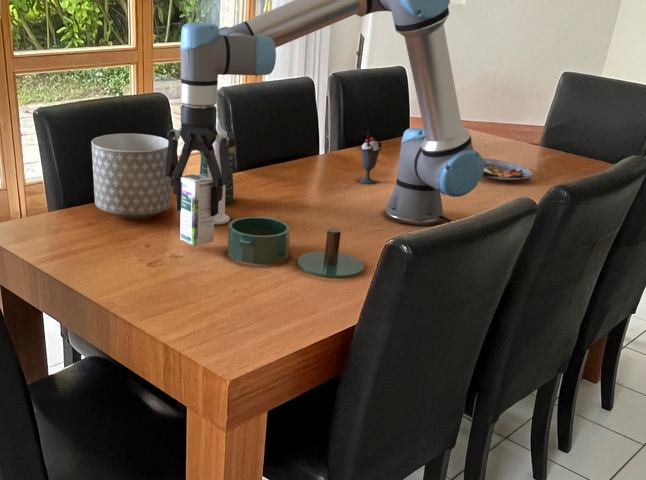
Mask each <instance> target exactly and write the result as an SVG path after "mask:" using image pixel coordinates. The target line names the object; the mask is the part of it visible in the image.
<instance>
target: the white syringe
mask: <svg viewBox="0 0 646 480" xmlns="http://www.w3.org/2000/svg"><path fill="white" fill-rule="evenodd" d="M216 130H217V133H218V135H221V136H224V137H226V136H227V132H226V131H227V130H225V129H224V128H223V127H222V125H221V120H220V118H219V117H217V118H216ZM213 147H214V151H215V157H216V160H217V163H218V166H219V169H220V172H221V165H220V156H219V146H218V142H217V140H216V141H215V142H214V143H213ZM208 178H211V179H212V176H211V173H210V170H209V167H208ZM225 186H226V185H223V196H222V200H220V201H218V214H217V215H215V216H214V225H225V224H228V223H230V219H231V218H230V216H229V215H228V214H226V213H225V212H226V210H225V209H226V203H225Z"/></svg>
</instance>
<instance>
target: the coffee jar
mask: <svg viewBox="0 0 646 480" xmlns="http://www.w3.org/2000/svg"><path fill="white" fill-rule="evenodd" d="M225 131H226V132H227V136H229V137H230V142H229V147H228V150H229V160H230V170H231V182H230V183H229V184H227V185H226V186H225V204H226V203H227V204H228V203H231V202H233V201H234V169H233V167H234V166H233V165H234V163H233V162H234V154H235V151H236V148H237V147H236V136H235V133H233V132H231V131H228V130H225ZM199 153H200V166H199V174H201V175H203V176H206V177H208V164H207V161H206V158H205V156H204V155H203V152H200V151H199Z"/></svg>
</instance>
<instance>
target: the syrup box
mask: <svg viewBox="0 0 646 480" xmlns="http://www.w3.org/2000/svg"><path fill="white" fill-rule="evenodd" d="M182 176H183V177H181V211H180V220H179V221H180V223H179V224H180V227H179V228H180V230H179V232H180V233H179V240H180V241H183V242H185V243H187V244H189V245H191V246H193V247H198V246H203V245H206V244H210V243H214V240H215V239H214V238H215V224H214V217H213V216H210V214H211V187H212V186H213V185H214V182H213V179H211V178H208V177H206V176H203V175H201V174H200V173H195V174H193V173H192V174H187V175H182Z"/></svg>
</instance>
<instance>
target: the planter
mask: <svg viewBox="0 0 646 480" xmlns="http://www.w3.org/2000/svg"><path fill="white" fill-rule="evenodd" d="M168 143H169V142H168V138H164V137H162V136H158V135H152V134H146V133H145V134H144V133H111V134H104V135H101V136H97V137H94V138H93V139H92V140H91V158H92V175H93V193H94V195H93V196H94V205H95V207H96V208H98V209H99V210H101V211H104V212H106V213H109V214H111V215H112V216H115V217H117V218H120V219H124V220H131V221H138V220H144V219H148V218H151V217H153V216H155V215H158V214H159V213H161V212H165V211H167V210H168V209H169V208H170V207H171V205H172V178H170V177H167V176H165V167H166V159H167V151H168Z"/></svg>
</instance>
